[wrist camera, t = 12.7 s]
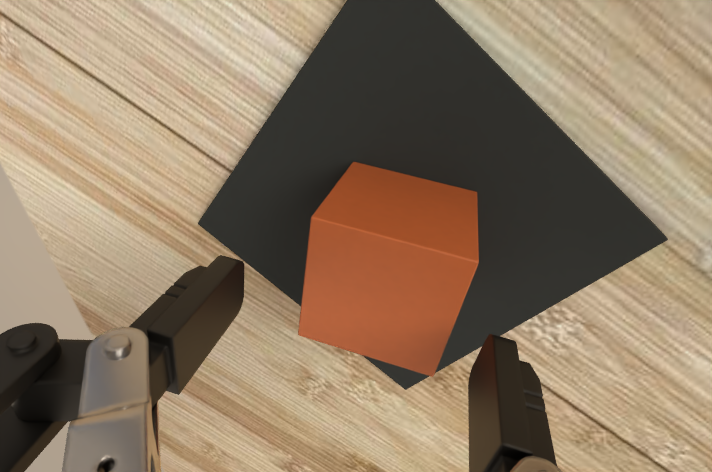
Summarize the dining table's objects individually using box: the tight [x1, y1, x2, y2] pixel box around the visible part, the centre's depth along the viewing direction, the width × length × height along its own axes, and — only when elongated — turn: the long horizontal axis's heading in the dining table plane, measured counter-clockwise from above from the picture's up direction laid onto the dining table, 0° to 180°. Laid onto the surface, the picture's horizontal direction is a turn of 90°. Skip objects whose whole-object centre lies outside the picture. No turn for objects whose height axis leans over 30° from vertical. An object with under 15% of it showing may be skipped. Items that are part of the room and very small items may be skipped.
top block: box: [298, 162, 479, 376], centre depth 15 cm, size 5×5×5 cm
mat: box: [198, 0, 668, 390], centre depth 17 cm, size 14×14×1 cm
